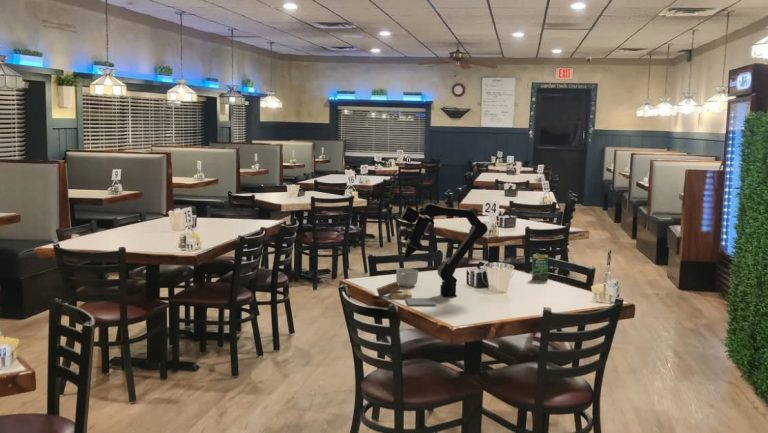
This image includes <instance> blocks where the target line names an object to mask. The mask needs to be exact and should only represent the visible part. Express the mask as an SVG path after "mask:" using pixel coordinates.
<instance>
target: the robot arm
mask: <svg viewBox="0 0 768 433" xmlns="http://www.w3.org/2000/svg"><path fill="white" fill-rule="evenodd" d="M422 216H423V217H422ZM441 216H443V217H444V216H445V217H455V218H466V220H467V221H468V222H469V224H470V225H471V226H470V228H469V231H468V234H467V236H466V237H465V238H464V240H463V241H462V243H461V244H460V245H459V246H458V248H457V249H456V251H455V252H454V253H453V254H452V256H451V257H450V258H449V259H448V260H446V261H445V260H443V261H441V264H440V265H439V266H437V275H438V276H439V278H441V284H440V290H439V294H440V295H441V296H442V298H443V297H444V298H445V297H447V298H449V297H451V298H455V297H457V294H456V293H457V282H458V279H457V278H456V277H455V276H454V274H455V272H456V269H457V266H458V264H459V263H460V262H461V261H462V259H464V257H465V255H466V254H467V253H468V252H469V250H470V249H471V248H472V246H473V245H474V244H475V243H476V242H477V241H479V240H480V239H481V238H482V237H483V236H485V235H486V233H488V226H487V224H486V223H485V222H483V221H481V219H479V217H478V216H477V215H476V214H475V212H474V211H473V210H472V209H470V208H468V209H467V208H465V209H463V208H456V207H455V208H454V207H446V206H440V205H438V204H436V203H435V204H433V203H431V202H426V203H425V204H424V205H423V206H422V207H421V208H419V209H417V210H416V209H414V208H413V207H411V206H410V205H407V206H406V207H405V208H404V210H402V213H401V215H400V217H399V218H400V220H402V221H405V222H406V223H408V224H410V225H412V224H414V226H412V227H411V228H410V229H408V228H407V227H404V228H398V230H397V231H398V232H397V236H398V237H402V240H404V244H405V250H404V254H403V257H402V258H403V260H407V259H408V258H409V257H410V256H411V255H412V254H413V253H415V252H416V251H418V250H419V251H422V249H423V248H424V247H423V243H422V239H423V237H424V236H425V235H426V231H427V229H428V227H429V225H430V224H432V225H435V220H434V218H433V217H441Z"/></svg>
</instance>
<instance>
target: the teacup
mask: <svg viewBox="0 0 768 433" xmlns="http://www.w3.org/2000/svg"><path fill="white" fill-rule="evenodd" d="M395 278H396V279H395V282H396V281H397V283H398V285H399V287H400V286H401V287H403V288H411V287H414V286H415V285H416V284H417V283H418V279H419V270H417V269H413V268H403V267H400V268H396V276H395Z"/></svg>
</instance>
